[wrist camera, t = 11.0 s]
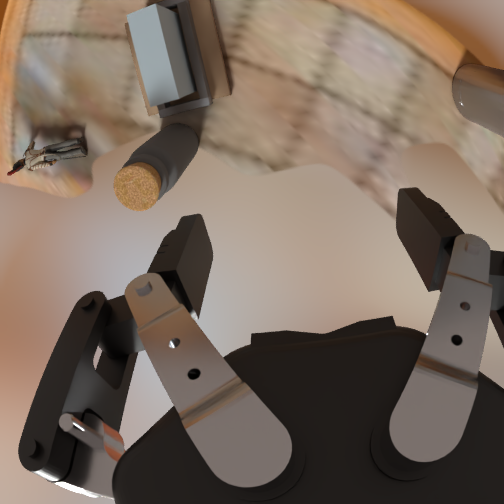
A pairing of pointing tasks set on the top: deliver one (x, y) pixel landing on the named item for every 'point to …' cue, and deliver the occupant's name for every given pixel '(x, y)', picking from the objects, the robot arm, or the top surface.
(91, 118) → the top surface
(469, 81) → the robot arm
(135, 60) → the grey piece
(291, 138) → the top surface
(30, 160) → the figurine
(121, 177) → the bottle
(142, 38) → the door
